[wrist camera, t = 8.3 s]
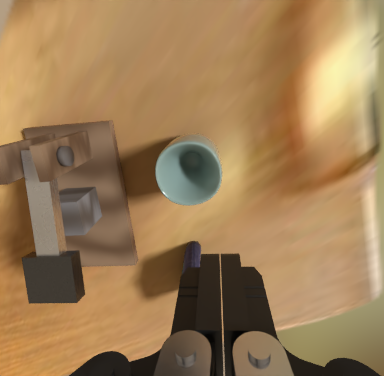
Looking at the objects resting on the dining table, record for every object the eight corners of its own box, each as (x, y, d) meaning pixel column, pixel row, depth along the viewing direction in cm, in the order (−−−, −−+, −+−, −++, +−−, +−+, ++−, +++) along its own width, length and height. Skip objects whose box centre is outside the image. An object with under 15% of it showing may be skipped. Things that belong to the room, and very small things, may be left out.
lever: (17, 151, 33) (4, 151, 31) (65, 148, 32) (56, 147, 30) (39, 294, 36) (29, 303, 34) (85, 294, 35) (77, 302, 33)
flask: (198, 285, 48) (193, 337, 38) (182, 283, 48) (173, 334, 38) (202, 241, 45) (198, 284, 34) (185, 239, 45) (176, 281, 35)
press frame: (29, 127, 40) (-47, 142, 28) (112, 120, 39) (68, 133, 27) (68, 261, 48) (21, 316, 36) (138, 260, 47) (112, 316, 35)
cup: (224, 175, 40) (227, 200, 31) (175, 184, 41) (163, 211, 32) (215, 123, 38) (215, 134, 28) (162, 134, 39) (146, 148, 30)
